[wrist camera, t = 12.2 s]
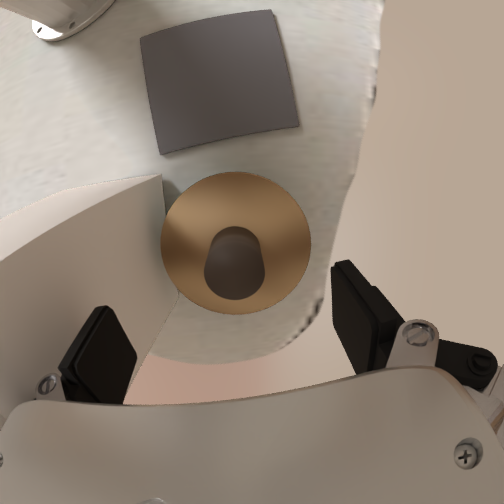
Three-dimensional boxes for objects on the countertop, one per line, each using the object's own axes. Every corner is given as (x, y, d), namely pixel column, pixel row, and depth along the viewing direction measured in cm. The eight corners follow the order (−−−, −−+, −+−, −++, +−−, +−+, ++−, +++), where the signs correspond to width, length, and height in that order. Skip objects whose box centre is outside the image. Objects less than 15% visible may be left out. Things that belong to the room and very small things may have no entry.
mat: (141, 39, 17) (139, 38, 17) (270, 11, 17) (271, 9, 16) (161, 154, 22) (159, 154, 21) (298, 126, 21) (299, 125, 21)
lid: (146, 192, 18) (121, 205, 14) (296, 158, 18) (313, 162, 14) (186, 318, 22) (177, 354, 18) (314, 294, 22) (330, 327, 18)
